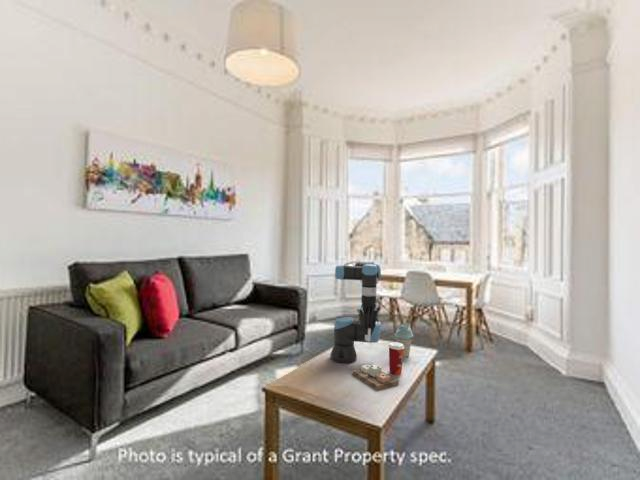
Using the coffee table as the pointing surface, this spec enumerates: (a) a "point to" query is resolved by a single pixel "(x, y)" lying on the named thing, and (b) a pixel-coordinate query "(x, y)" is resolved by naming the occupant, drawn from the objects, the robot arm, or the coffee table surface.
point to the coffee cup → (395, 357)
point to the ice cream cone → (404, 337)
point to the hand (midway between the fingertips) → (367, 340)
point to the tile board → (374, 380)
